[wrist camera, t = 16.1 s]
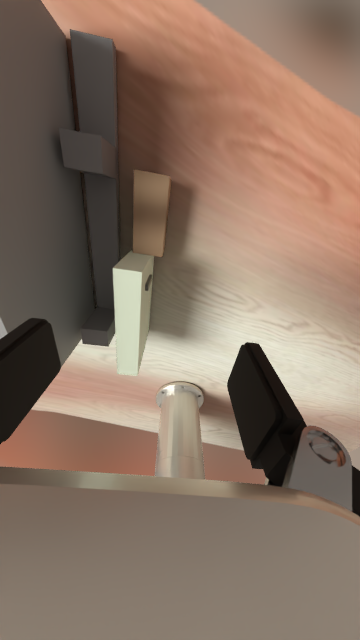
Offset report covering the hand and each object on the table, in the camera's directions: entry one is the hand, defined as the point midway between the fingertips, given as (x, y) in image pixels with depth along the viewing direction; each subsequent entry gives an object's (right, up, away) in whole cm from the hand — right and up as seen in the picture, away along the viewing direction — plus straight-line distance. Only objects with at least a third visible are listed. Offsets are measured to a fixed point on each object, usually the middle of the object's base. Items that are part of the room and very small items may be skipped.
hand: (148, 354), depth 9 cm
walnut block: (-2, +17, +18) cm, 25 cm away
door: (-5, +7, +24) cm, 26 cm away
